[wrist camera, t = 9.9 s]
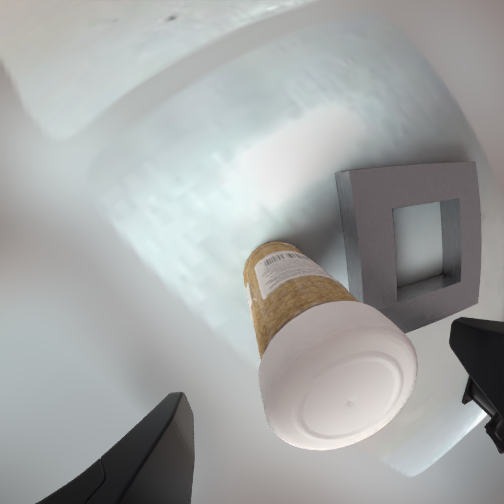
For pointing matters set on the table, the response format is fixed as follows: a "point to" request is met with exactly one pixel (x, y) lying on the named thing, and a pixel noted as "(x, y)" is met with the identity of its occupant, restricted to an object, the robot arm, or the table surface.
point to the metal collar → (383, 241)
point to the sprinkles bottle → (322, 353)
